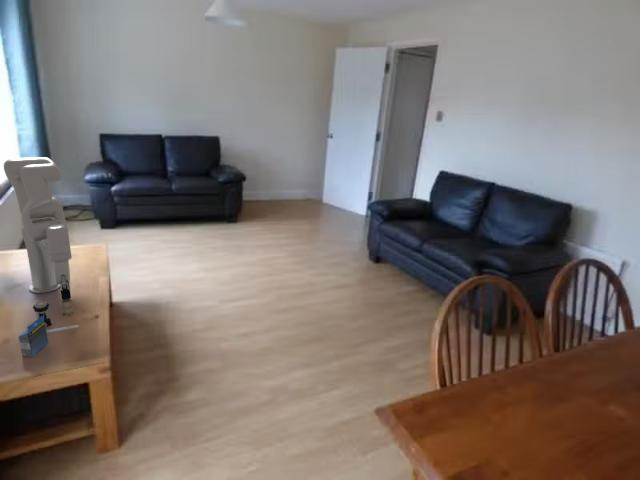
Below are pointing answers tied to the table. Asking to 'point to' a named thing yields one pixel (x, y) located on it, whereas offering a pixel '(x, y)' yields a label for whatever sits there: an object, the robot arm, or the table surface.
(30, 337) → the label tape cartridge
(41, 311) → the push button
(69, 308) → the awl
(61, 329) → the flat metal tool blade
